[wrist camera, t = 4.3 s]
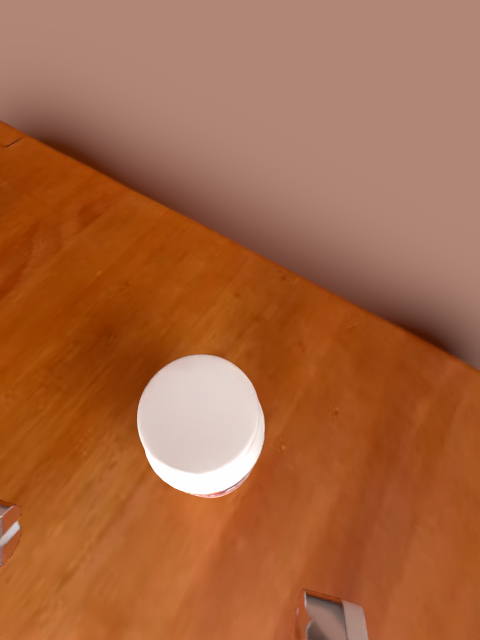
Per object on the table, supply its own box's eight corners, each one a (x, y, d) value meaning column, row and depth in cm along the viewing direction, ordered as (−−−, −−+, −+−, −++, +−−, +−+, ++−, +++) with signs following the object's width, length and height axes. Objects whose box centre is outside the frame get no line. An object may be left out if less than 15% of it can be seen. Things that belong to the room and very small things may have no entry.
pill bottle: (179, 512, 17) (137, 517, 10) (160, 419, 19) (113, 365, 12) (269, 479, 18) (294, 461, 10) (241, 393, 20) (244, 328, 13)
